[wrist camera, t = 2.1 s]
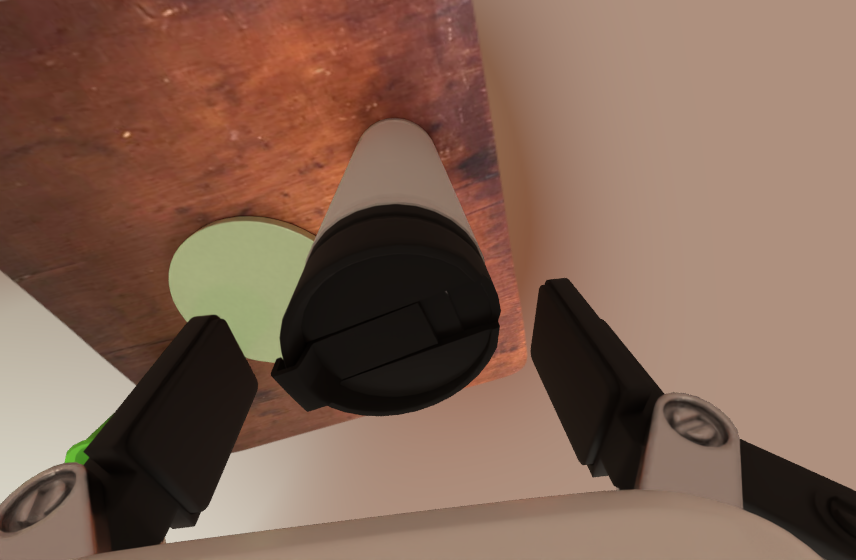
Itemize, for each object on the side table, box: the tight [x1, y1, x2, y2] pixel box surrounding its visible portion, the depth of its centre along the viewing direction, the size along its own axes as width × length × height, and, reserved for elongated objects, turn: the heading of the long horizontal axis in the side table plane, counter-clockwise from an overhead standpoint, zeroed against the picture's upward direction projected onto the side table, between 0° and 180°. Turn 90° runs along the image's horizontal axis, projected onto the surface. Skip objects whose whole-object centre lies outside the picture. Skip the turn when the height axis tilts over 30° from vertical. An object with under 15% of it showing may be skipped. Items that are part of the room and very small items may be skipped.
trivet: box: [169, 216, 316, 363], centre depth 31 cm, size 16×16×1 cm
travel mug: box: [271, 118, 501, 416], centre depth 17 cm, size 6×7×20 cm
